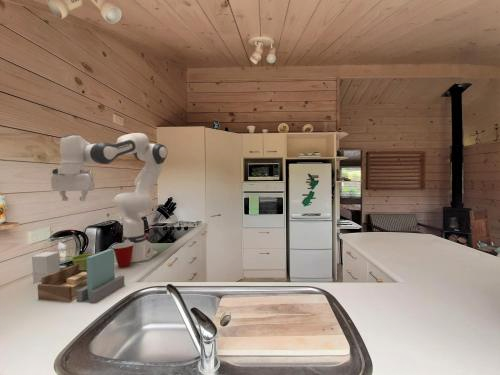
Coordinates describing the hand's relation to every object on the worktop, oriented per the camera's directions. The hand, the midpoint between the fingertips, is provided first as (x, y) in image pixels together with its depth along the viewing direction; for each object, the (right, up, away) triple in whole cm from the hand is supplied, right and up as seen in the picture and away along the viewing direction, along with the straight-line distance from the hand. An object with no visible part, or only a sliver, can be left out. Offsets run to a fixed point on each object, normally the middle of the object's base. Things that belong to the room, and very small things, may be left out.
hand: (73, 200), depth 118 cm
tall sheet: (+22, -36, -15) cm, 44 cm away
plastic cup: (+12, -37, +21) cm, 44 cm away
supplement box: (-14, -38, +2) cm, 40 cm away
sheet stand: (+22, -37, -15) cm, 46 cm away
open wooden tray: (+9, -37, -13) cm, 40 cm away
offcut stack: (+11, -36, -13) cm, 40 cm away
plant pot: (-2, -37, +10) cm, 38 cm away
